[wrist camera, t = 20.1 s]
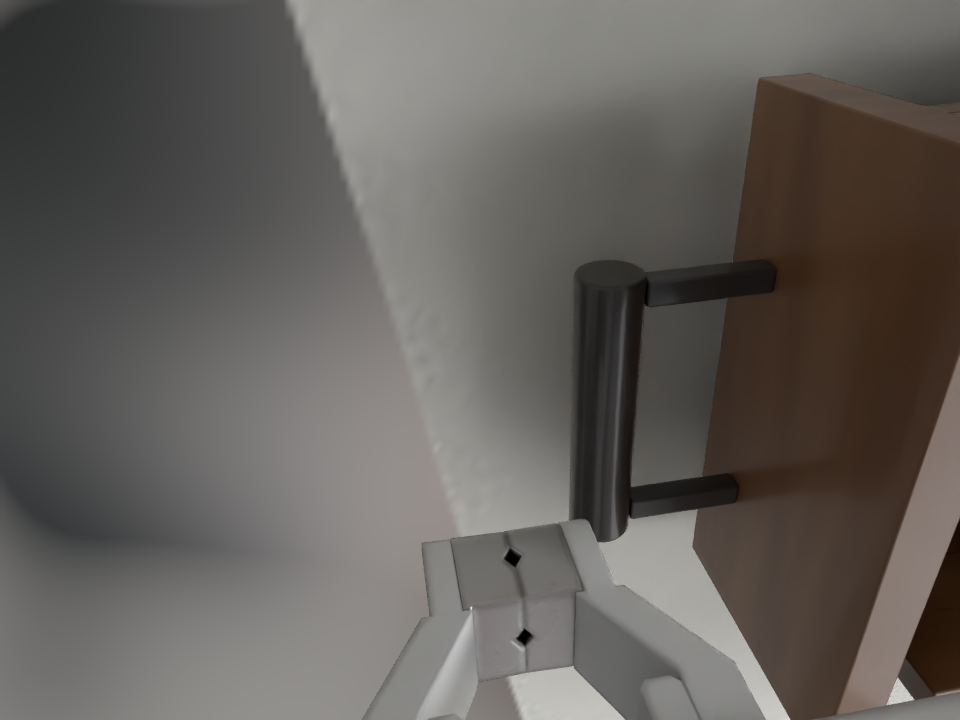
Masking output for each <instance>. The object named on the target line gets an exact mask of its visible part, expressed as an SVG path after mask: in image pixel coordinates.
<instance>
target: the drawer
mask: <svg viewBox="0 0 960 720" xmlns="http://www.w3.org/2000/svg"><path fill="white" fill-rule="evenodd" d="M724 298H727V305H726V312H725V319H724V326H723V333H722V340H721V347H720V354H719V361H718V369H717V376H716V383H715V390H714V397H713V404H712V411H711V418H710V425H709V432H708V440H707V447H706V454H705V461H704V468H703V475H702V477H697V478H690V479H683V480H676V481H669V482H663V483H656V484H649V485H642V486H636V487H631V478H632V464H633V451H634V438H635V425H636V412H637V398H638V385H639V372H640V359H641V346H642V332H643V319H644V306H645V305H646V306H647V307H657V306H665V305H674V304H682V303H690V302H699V301H707V300H716V299H724ZM694 509H698V510H697V518H696V525H695V532H694V539H693V549H694V550H695V552H696V554H697V556H698V558H699V559H700V561H701V563H702V565H703V566H704V568H705V570H706V572H707V573H708V575H709V577H710V579H711V580H712V582H713V584H714V586H715V587H716V589H717V591H718V593H719V594H720V596H721V598H722V600H723V601H724V603H725V605H726V607H727V608H728V610H729V612H730V614H731V616H732V617H733V619H734V621H735V623H736V624H737V626H738V628H739V630H740V631H741V633H742V635H743V637H744V638H745V640H746V642H747V644H748V645H749V647H750V649H751V651H752V652H753V654H754V656H755V658H756V659H757V661H758V663H759V665H760V666H761V668H762V670H763V672H764V674H765V675H766V677H767V679H768V681H769V682H770V684H771V686H772V688H773V689H774V691H775V693H776V695H777V696H778V698H779V700H780V702H781V703H782V705H783V707H784V709H785V710H786V712H787V714H788V716H789V717H790V719H791V720H813V719H818V718H824V717H829V716H834V715H839V714H845V713H850V712H855V711H860V710H866V709H871V708H876V707H881V706H886V704H887V702H888V699H889V697H890V694H891V692H892V689H893V687H894V684H895V682H896V679H897V677H898V678H899V680H900V681H901V682H902V684H903V685H904V686H905V688H906V689H907V690H908V692H909V693H910V694H911V696H912V697H913V698H914V700H918V699H924V698H929V697H934V696H939V695H945V694H950V693H955V692H960V103H949V104H938V105H927V106H922V105H919V104H915V103H912V102H908V101H905V100H901V99H898V98H894V97H891V96H887V95H884V94H880V93H877V92H873V91H870V90H866V89H863V88H859V87H856V86H852V85H849V84H845V83H842V82H838V81H835V80H831V79H828V78H824V77H821V76H817V75H814V74H810V73H809V74H797V75H785V76H773V77H761V78H759V79H758V85H757V92H756V99H755V106H754V113H753V120H752V127H751V134H750V142H749V149H748V156H747V163H746V170H745V177H744V184H743V191H742V198H741V205H740V213H739V220H738V227H737V234H736V241H735V248H734V255H733V262H732V263H724V264H715V265H706V266H697V267H688V268H680V269H671V270H662V271H653V272H645V271H644V270H643V269H642V268H641V267H639V266H637V265H635V264H633V263H630V262H625V261H619V260H598V261H592V262H588V263H585V264H583V265H581V266H579V267H578V268H577V269H576V271H575V273H574V276H573V328H572V382H571V435H570V488H569V521H571V520H577V519H583V518H585V519H586V520H587V521H588V522H589V524H590V526H591V528H592V531H593V533H594V535H595V538H596V540H597V542H609V541H613V540H615V539H617V538H619V537H620V536H621V535H622V534H623V533H624V532H625V531H626V529H627V526H628V517H629V516H630V518H631V519H635V518H642V517H648V516H655V515H661V514H668V513H675V512H681V511H688V510H694Z"/></svg>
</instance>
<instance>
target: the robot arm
mask: <svg viewBox="0 0 960 720" xmlns="http://www.w3.org/2000/svg"><path fill="white" fill-rule="evenodd" d="M422 557H423V565H424V573H425V581H426V590H427V598H428V606H429V614H430V617H424V618H421V620H420V621H419V623H418V625H417V627H416V628H415V630H414V632H413V633H412V635H411V637H410V639H409V640H408V642H407V644H406V646H405V647H404V649H403V650H402V652H401V654H400V656H399V658H398V659H397V661H396V663H395V664H394V666H393V668H392V669H391V671H390V673H389V674H388V676H387V678H386V679H385V682H384V683H383V685H382V686H381V688H380V690H379V691H378V693H377V695H376V696H375V698H374V700H373V702H372V703H371V705H370V707H369V708H368V710H367V712H366V714H365V715H364V717H363V719H362V720H465V718H466V715H467V713H468V711H469V708H470V706H471V703H472V701H473V698H474V695H475V693H476V690H477V688H478V682H483V681H488V680H492V679H498V678H502V677H507V676H512V675H517V674H522V673H528V672H535V671H541V670H548V669H555V668H562V667H569V666H574V669H575V670H576V671H577V672H578V673H579V674H580V675H581V676H582V677H583V678H584V679H585V680H586V681H587V682H588V683H589V684H590V685H591V686H592V687H594V688H595V689H596V690H597V691H598V692H599V693H600V694H601V695H602V696H603V697H604V698H605V699H606V700H607V701H608V702H609V703H610V704H611V705H612V706H613V707H614V708H615V709H616V710H617V711H618V712H619V713H620V714H621V715H622V716H623V717H624V718H625V719H626V720H766V719H765V717H764V716H763V714H762V712H761V710H760V708H759V706H758V704H757V702H756V701H755V699H754V697H753V695H752V693H751V691H750V689H749V688H748V686H747V684H746V682H745V680H744V678H743V676H742V675H741V673H740V671H739V669H738V667H737V665H736V663H735V662H734V661H733V660H731V659H730V658H728V657H727V656H725V655H724V654H723V653H721V652H720V651H718V650H717V649H715V648H714V647H713V646H711V645H710V644H708V643H707V642H705V641H704V640H702V639H701V638H700V637H698V636H697V635H695V634H694V633H692V632H691V631H689V630H688V629H687V628H685V627H684V626H682V625H681V624H679V623H678V622H676V621H675V620H674V619H672V618H671V617H669V616H668V615H666V614H665V613H664V612H662V611H661V610H659V609H658V608H656V607H655V606H653V605H652V604H651V603H649V602H648V601H646V600H645V599H643V598H642V597H640V596H639V595H638V594H636V593H635V592H633V591H632V590H630V589H629V588H627V587H626V586H625V585H620V586H616V585H615V583H614V581H613V578H612V576H611V573H610V571H609V569H608V566H607V564H606V562H605V559H604V557H603V554H602V552H601V550H600V547H599V545H598V543H597V540H596V538H595V535H594V533H593V531H592V528H591V526H590V524H589V522H588V521H587V520H586V519H585V518H583V519H577V520H571V521H565V522H559V523H558V524H557V523H553V524H547V525H541V526H535V527H528V528H522V529H516V530H510V531H504V532H499V533H491V534H483V535H475V536H467V537H460V538H452V539H450V540H441V541H433V542H424V543H422ZM813 720H960V692H955V693H950V694H945V695H939V696H934V697H929V698H924V699H918V700H913V701H908V702H903V703H897V704H892V705H887V706H881V707H876V708H871V709H866V710H860V711H855V712H850V713H845V714H839V715H834V716H829V717H824V718H818V719H813Z"/></svg>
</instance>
